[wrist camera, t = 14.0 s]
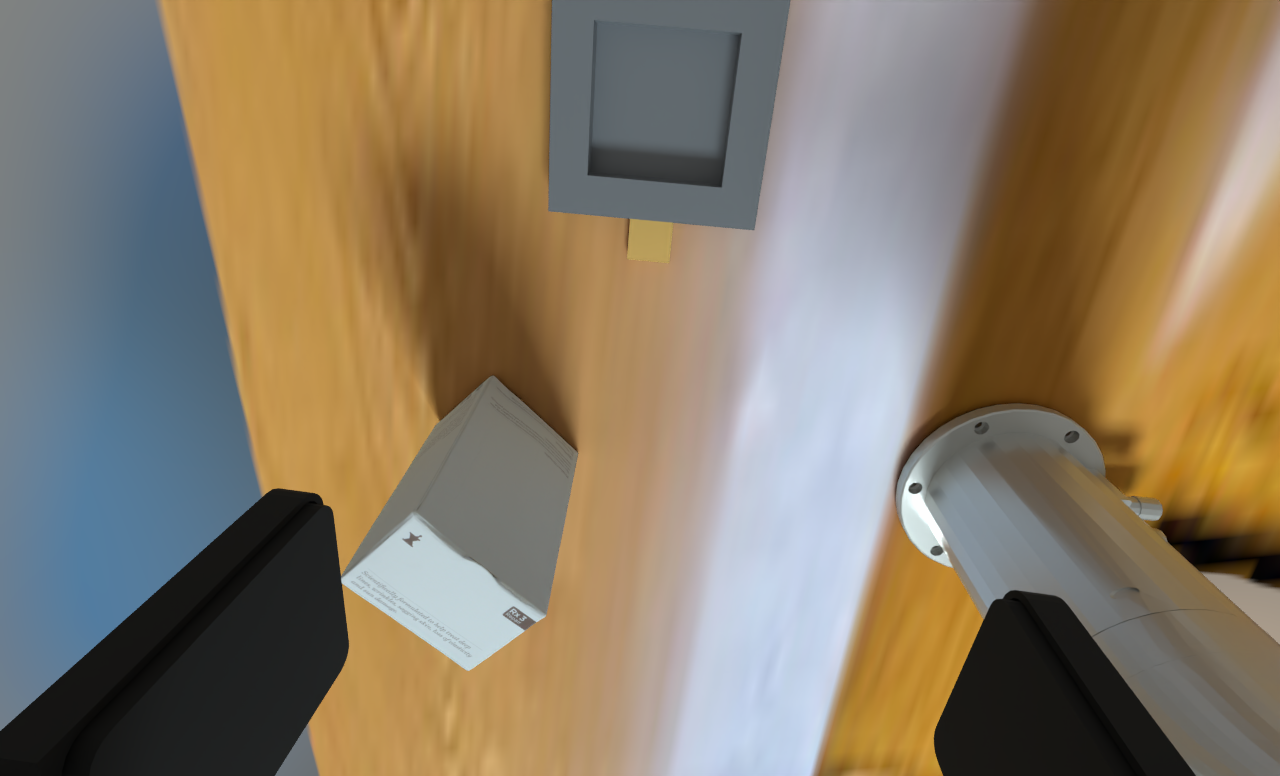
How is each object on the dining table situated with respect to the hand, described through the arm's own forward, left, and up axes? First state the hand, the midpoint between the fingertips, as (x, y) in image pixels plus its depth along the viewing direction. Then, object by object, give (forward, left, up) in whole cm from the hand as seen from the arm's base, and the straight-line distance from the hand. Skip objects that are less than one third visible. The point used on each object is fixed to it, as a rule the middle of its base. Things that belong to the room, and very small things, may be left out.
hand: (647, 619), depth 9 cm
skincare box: (+9, +15, -29) cm, 34 cm away
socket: (+1, -5, -29) cm, 29 cm away
